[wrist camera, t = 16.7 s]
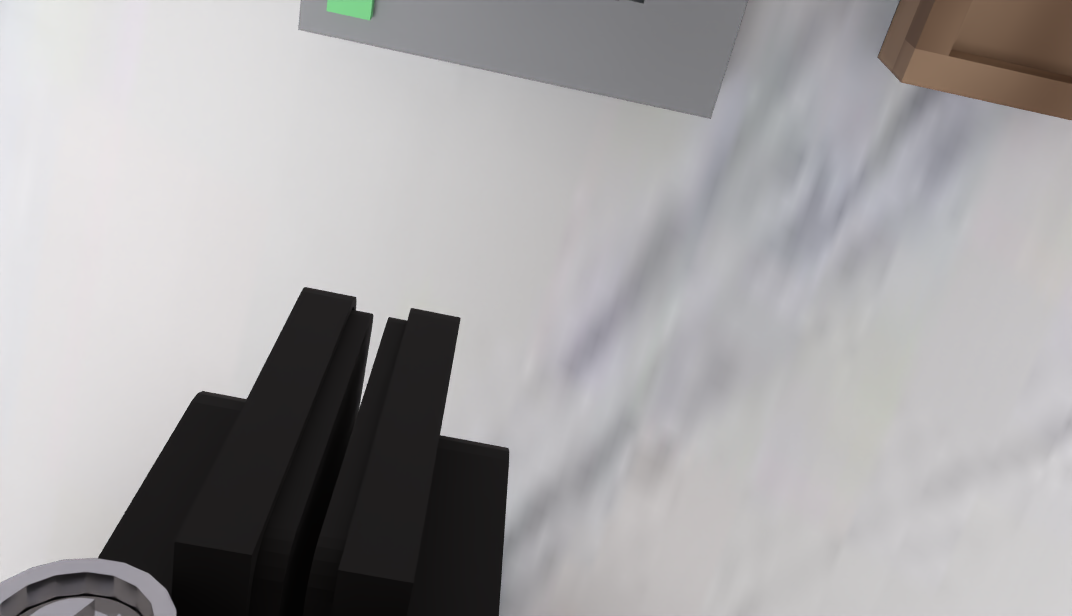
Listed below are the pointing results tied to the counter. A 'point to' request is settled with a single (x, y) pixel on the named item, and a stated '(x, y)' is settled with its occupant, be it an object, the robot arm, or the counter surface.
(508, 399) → the counter surface
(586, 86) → the port
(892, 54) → the wooden tray
